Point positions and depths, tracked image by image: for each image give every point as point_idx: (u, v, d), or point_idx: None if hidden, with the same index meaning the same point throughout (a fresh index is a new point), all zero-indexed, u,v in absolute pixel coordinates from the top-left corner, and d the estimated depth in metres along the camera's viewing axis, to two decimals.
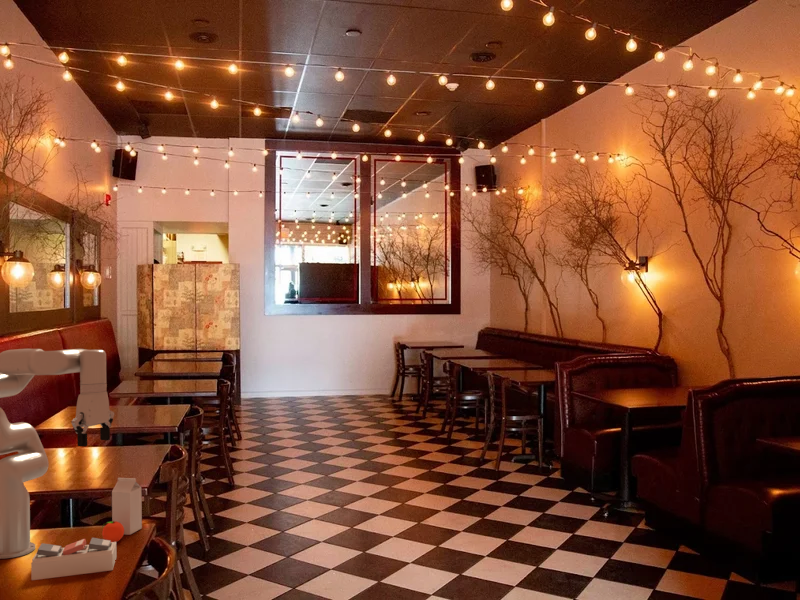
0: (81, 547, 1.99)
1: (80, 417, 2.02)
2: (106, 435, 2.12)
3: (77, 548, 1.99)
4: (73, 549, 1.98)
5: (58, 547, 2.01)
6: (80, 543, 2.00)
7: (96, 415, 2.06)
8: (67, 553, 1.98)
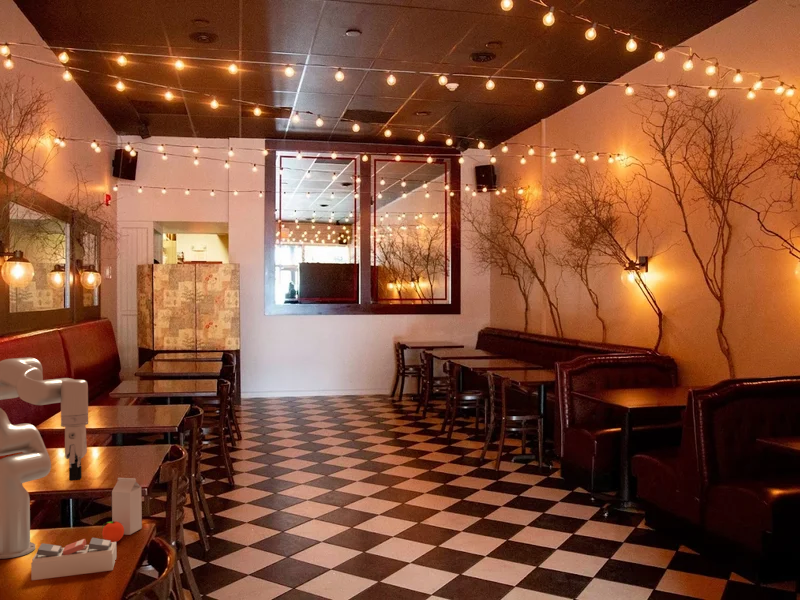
0: (81, 547, 1.99)
1: None
2: None
3: (77, 548, 1.99)
4: (73, 549, 1.98)
5: (58, 547, 2.01)
6: (80, 543, 2.00)
7: None
8: (67, 553, 1.98)
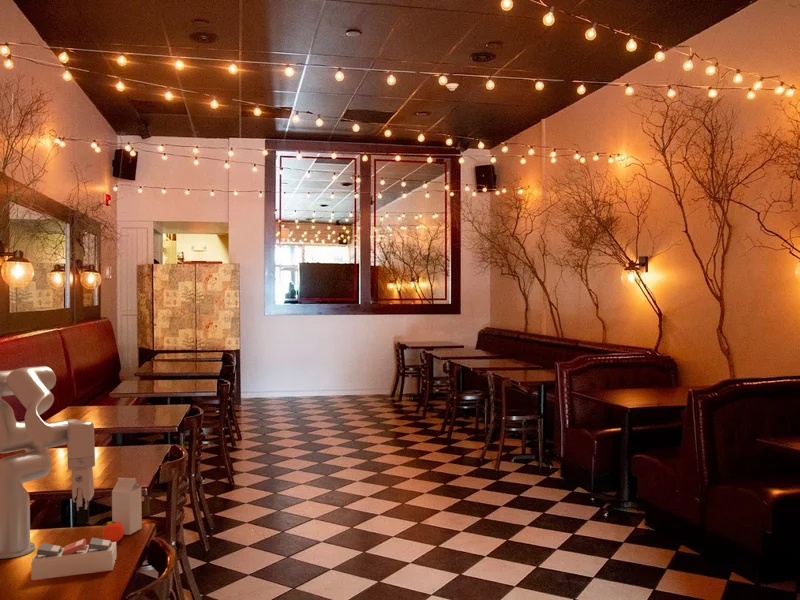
0: (81, 547, 1.99)
1: None
2: None
3: (77, 548, 1.99)
4: (73, 549, 1.98)
5: (58, 547, 2.01)
6: (80, 543, 2.00)
7: None
8: (67, 553, 1.98)
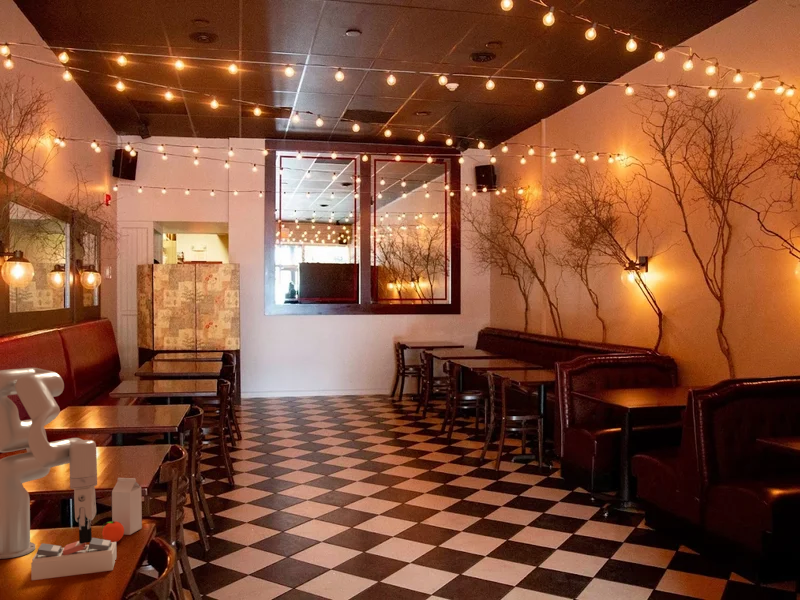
0: (81, 547, 1.99)
1: None
2: None
3: (77, 548, 1.99)
4: (73, 549, 1.98)
5: (58, 547, 2.01)
6: (80, 544, 2.00)
7: None
8: (67, 553, 1.98)
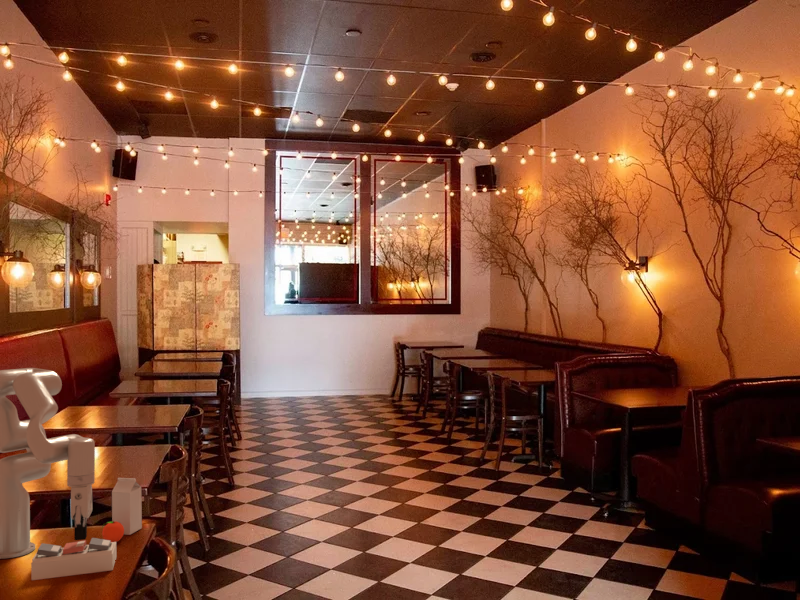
0: (81, 549, 1.99)
1: None
2: None
3: (77, 549, 1.99)
4: (73, 549, 1.98)
5: (58, 547, 2.01)
6: (81, 545, 2.00)
7: None
8: (67, 552, 1.98)
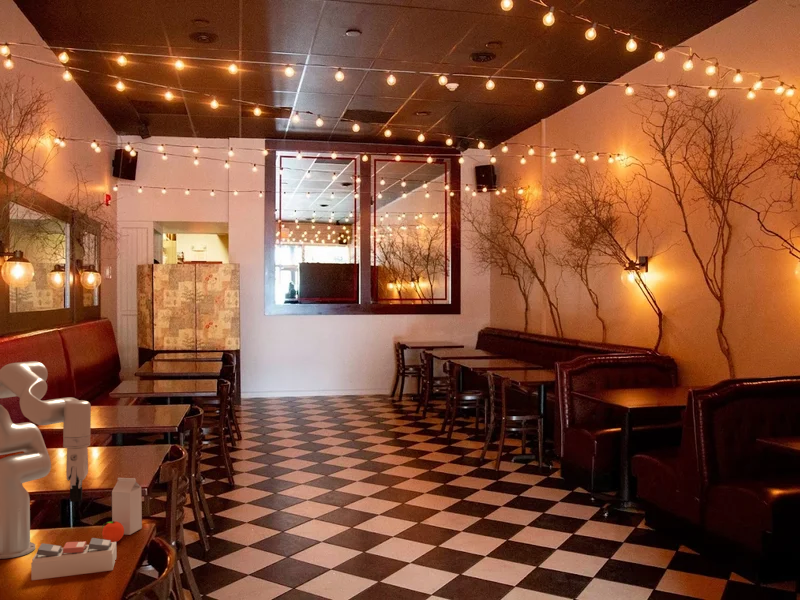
0: (81, 550, 1.99)
1: None
2: None
3: (77, 549, 1.99)
4: (73, 549, 1.98)
5: (58, 547, 2.01)
6: (81, 546, 2.00)
7: None
8: (66, 551, 1.98)
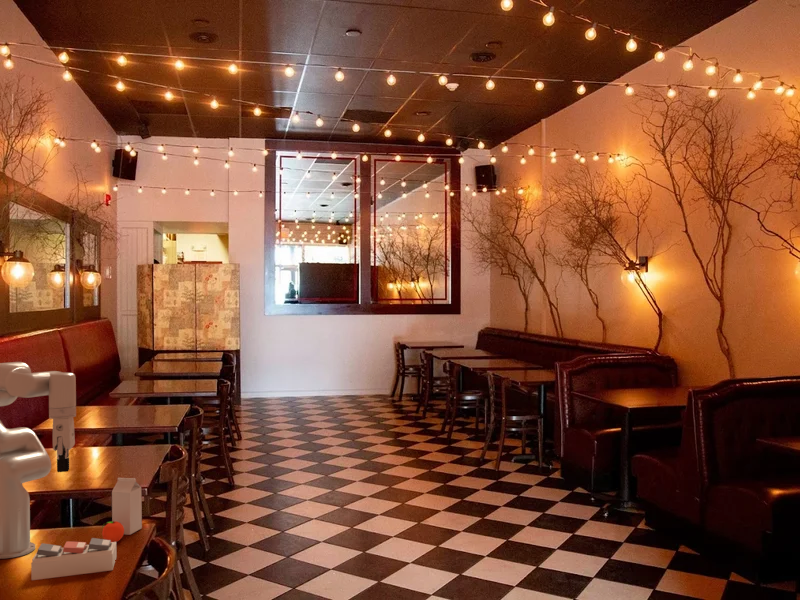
0: (81, 551, 1.99)
1: None
2: None
3: (77, 550, 1.99)
4: (73, 549, 1.98)
5: (58, 547, 2.01)
6: (81, 546, 2.00)
7: None
8: (66, 551, 1.98)
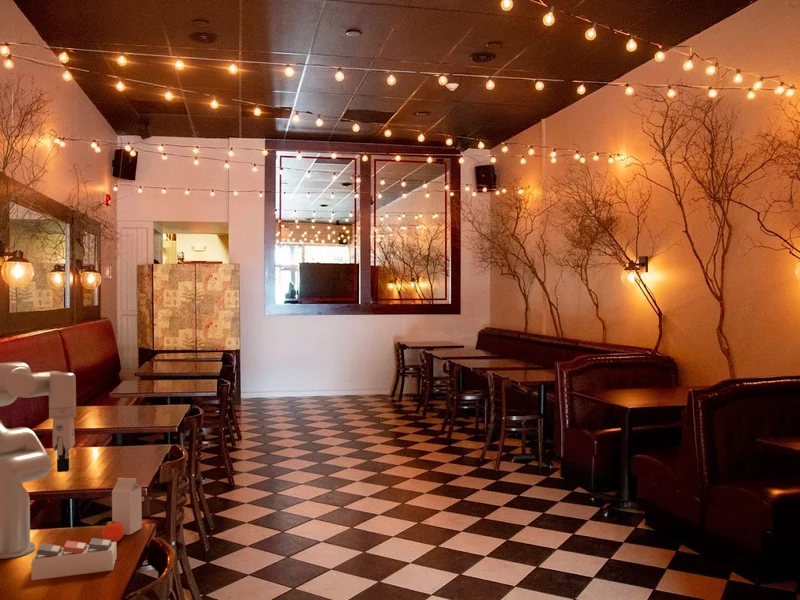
0: (81, 551, 1.99)
1: None
2: None
3: (77, 550, 1.99)
4: (73, 549, 1.98)
5: (58, 547, 2.01)
6: (82, 547, 2.00)
7: None
8: (66, 550, 1.98)
